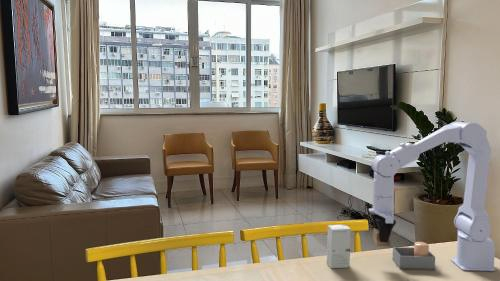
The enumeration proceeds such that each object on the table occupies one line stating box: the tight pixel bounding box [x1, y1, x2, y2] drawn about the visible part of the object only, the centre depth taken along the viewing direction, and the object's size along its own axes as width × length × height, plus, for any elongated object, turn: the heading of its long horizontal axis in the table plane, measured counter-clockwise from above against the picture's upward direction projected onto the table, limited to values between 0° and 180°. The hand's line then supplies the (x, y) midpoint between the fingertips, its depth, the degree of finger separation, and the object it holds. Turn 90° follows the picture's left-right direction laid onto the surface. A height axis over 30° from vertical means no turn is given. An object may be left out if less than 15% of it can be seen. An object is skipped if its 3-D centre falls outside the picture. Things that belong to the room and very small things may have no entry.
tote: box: [391, 246, 436, 271], centre depth 116 cm, size 10×7×4 cm
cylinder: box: [413, 241, 430, 256], centre depth 116 cm, size 4×4×6 cm
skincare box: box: [326, 224, 352, 269], centre depth 115 cm, size 6×4×12 cm
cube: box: [372, 228, 392, 247], centre depth 115 cm, size 4×4×4 cm
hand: (381, 238), depth 115 cm, fingers closed on cube, 4 cm apart
